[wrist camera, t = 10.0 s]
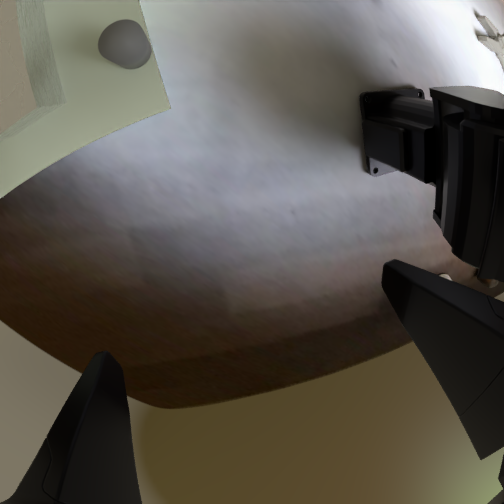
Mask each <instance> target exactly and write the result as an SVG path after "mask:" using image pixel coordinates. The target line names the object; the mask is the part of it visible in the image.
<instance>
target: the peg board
mask: <svg viewBox="0 0 504 504" xmlns="http://www.w3.org/2000/svg"><path fill="white" fill-rule="evenodd" d="M43 2H44V9H45V15H46V21H47V26H48V31H49V36H50V41H51V45H52V50H53V54H54V58H55V62H56V66H57V70H58V74H59V77H60V81H61V84H62V88H63V91H64V94H65V98H66V101H67V103H66V104H65V105H63V106H61V107H59V108H58V109H56V110H54V111H53V112H51V113H49V114H48V115H46V116H44V117H43V118H41V119H40V120H38V121H37V122H35V123H34V124H32V125H31V126H29V127H28V128H26V129H25V130H23V131H22V132H20V133H19V134H18V135H16V136H13V137H10V138H8V139H5V140H3V141H1V142H0V198H2V197H3V196H4V195H6V194H7V193H8V192H10V191H11V190H13V189H14V188H16V187H17V186H18V185H20V184H21V183H23V182H24V181H26V180H27V179H29V178H30V177H32V176H34V175H35V174H37V173H38V172H40V171H41V170H43V169H45V168H46V167H48V166H50V165H51V164H53V163H55V162H56V161H58V160H60V159H62V158H63V157H65V156H67V155H69V154H71V153H72V152H74V151H76V150H78V149H80V148H82V147H84V146H86V145H88V144H90V143H92V142H94V141H96V140H98V139H100V138H102V137H104V136H106V135H108V134H110V133H112V132H115V131H117V130H119V129H121V128H124V127H126V126H128V125H130V124H133V123H135V122H138V121H140V120H143V119H145V118H148V117H150V116H153V115H155V114H158V113H161V112H163V111H166V110H169V109H171V107H170V104H169V101H168V97H167V94H166V91H165V88H164V85H163V82H162V78H161V75H160V72H159V69H158V65H157V62H156V59H155V55H154V52H153V49H152V45H151V42H150V38H149V35H148V32H147V28H146V25H145V21H144V18H143V14H142V10H141V7H140V3H139V0H43Z"/></svg>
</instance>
